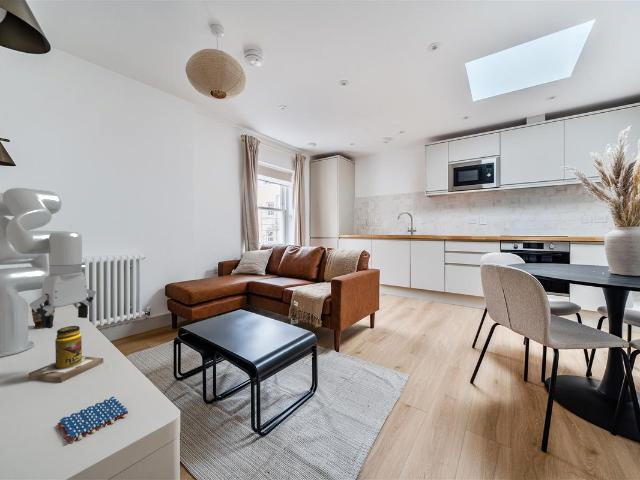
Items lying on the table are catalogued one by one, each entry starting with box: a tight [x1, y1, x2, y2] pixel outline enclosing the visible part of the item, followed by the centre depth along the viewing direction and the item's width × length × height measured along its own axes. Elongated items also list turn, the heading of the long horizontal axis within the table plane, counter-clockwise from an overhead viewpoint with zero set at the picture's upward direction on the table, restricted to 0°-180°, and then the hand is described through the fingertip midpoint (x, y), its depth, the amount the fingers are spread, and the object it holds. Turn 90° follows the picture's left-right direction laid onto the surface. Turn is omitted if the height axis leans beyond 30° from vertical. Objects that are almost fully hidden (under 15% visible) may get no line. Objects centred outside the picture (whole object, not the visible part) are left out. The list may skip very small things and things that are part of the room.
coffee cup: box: [31, 300, 56, 329], centre depth 123 cm, size 9×8×13 cm
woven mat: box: [57, 396, 129, 445], centre depth 59 cm, size 10×11×2 cm
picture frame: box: [27, 355, 104, 383], centre depth 82 cm, size 13×12×2 cm
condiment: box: [43, 325, 85, 374], centre depth 82 cm, size 7×8×12 cm
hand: (66, 322), depth 82 cm, fingers open, 9 cm apart
